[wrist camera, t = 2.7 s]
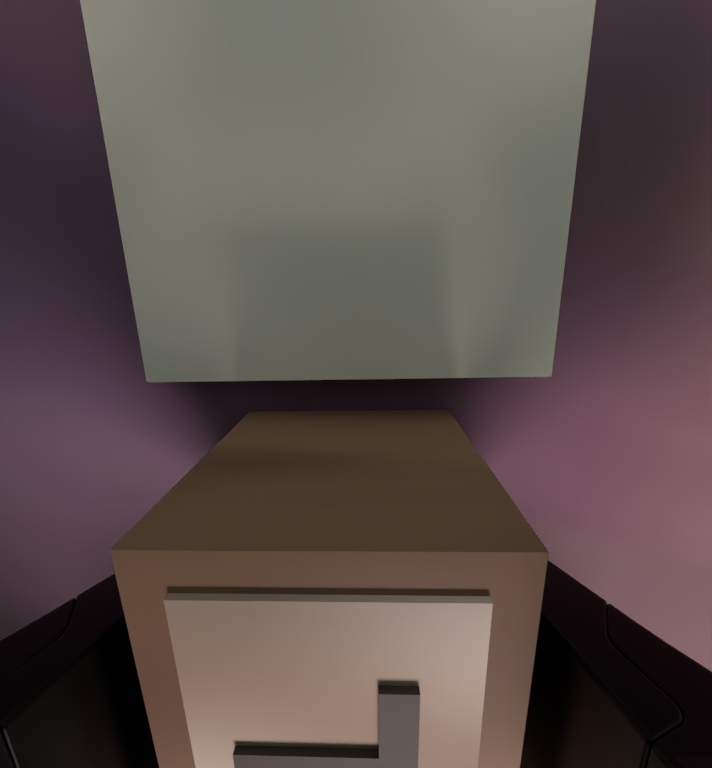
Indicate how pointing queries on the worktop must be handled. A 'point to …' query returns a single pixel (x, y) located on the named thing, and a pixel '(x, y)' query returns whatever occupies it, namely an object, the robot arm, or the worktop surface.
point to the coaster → (342, 182)
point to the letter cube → (335, 599)
